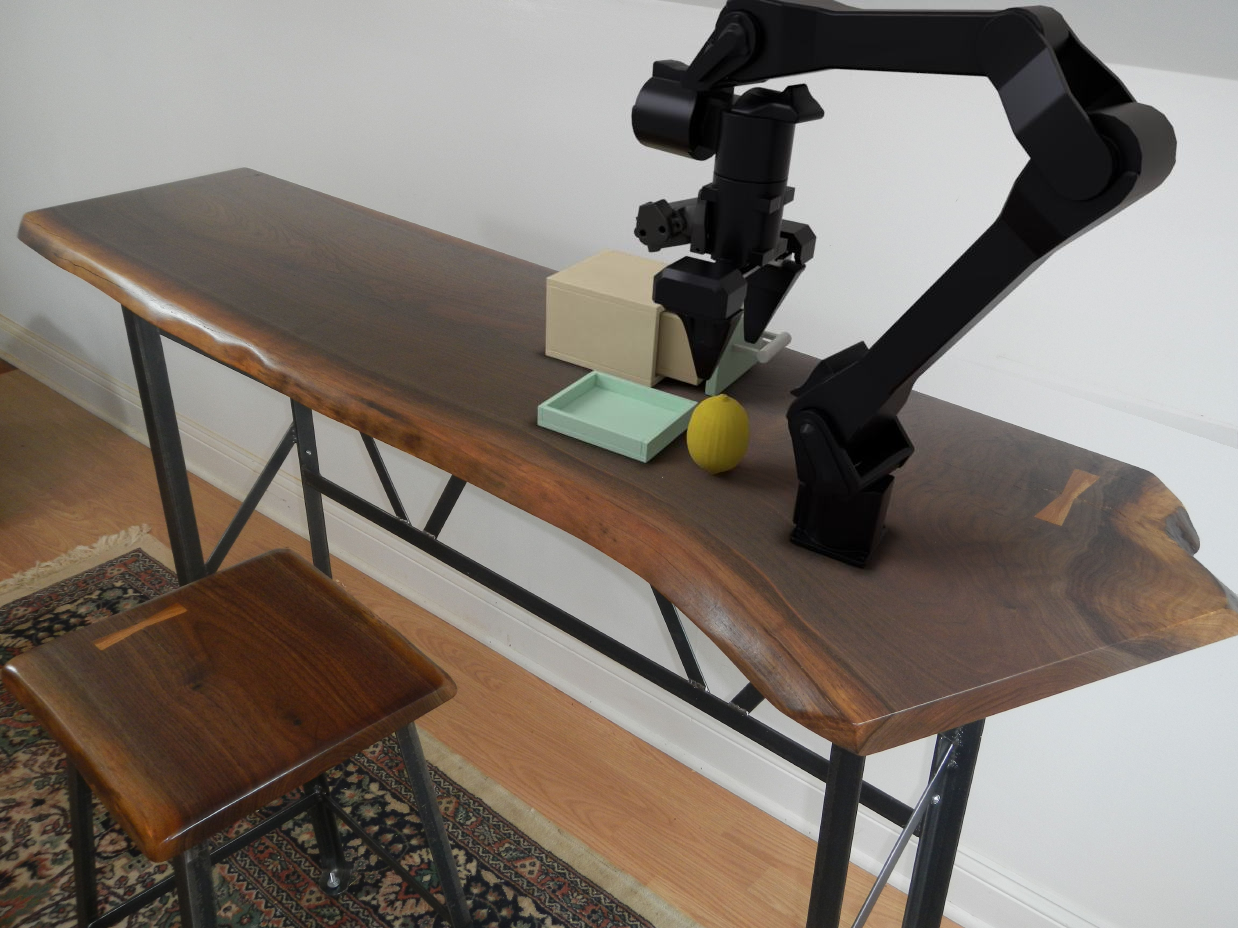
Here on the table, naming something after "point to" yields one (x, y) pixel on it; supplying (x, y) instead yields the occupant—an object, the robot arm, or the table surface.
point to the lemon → (718, 434)
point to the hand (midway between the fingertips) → (727, 359)
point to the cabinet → (606, 316)
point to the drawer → (733, 363)
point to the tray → (617, 415)
